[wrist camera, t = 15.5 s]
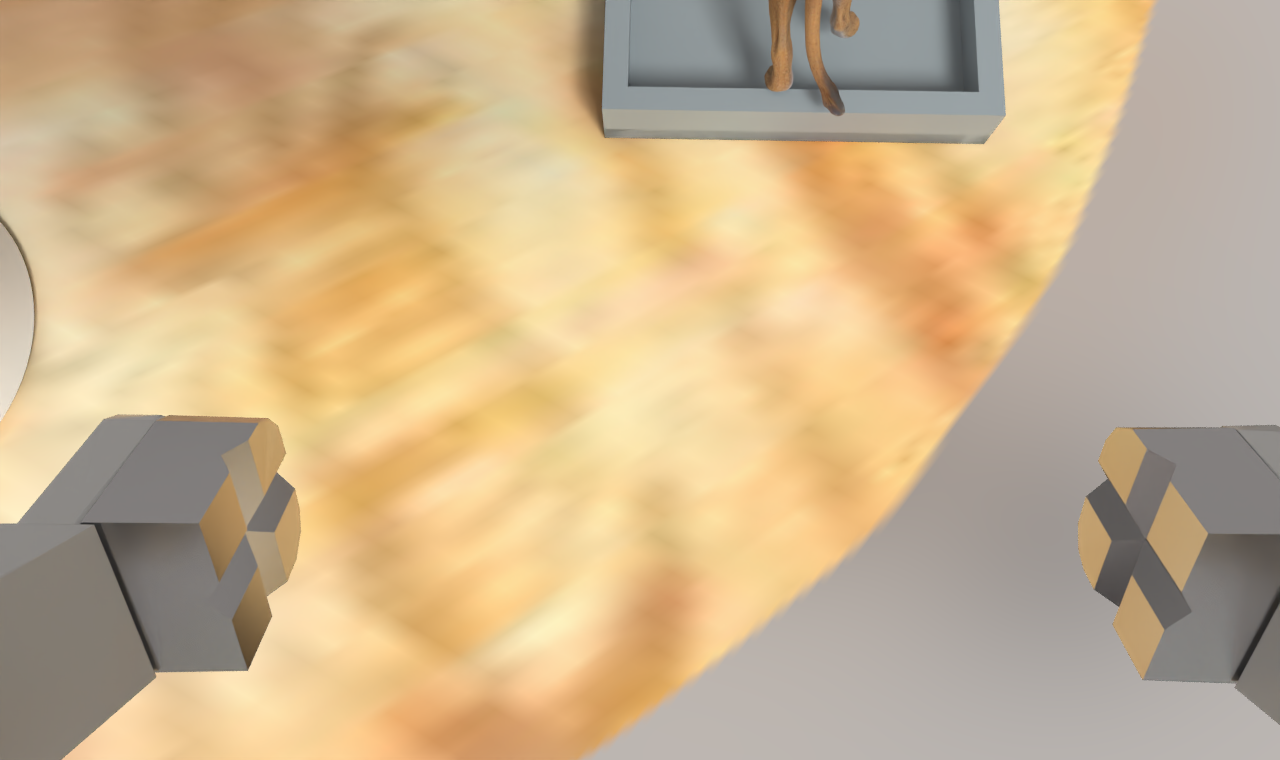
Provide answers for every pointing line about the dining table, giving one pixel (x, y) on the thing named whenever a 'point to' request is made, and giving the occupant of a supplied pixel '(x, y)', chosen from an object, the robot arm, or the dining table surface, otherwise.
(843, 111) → the lion figurine
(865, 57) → the grey tray
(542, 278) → the dining table surface
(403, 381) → the dining table surface
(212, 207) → the dining table surface
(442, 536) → the dining table surface
